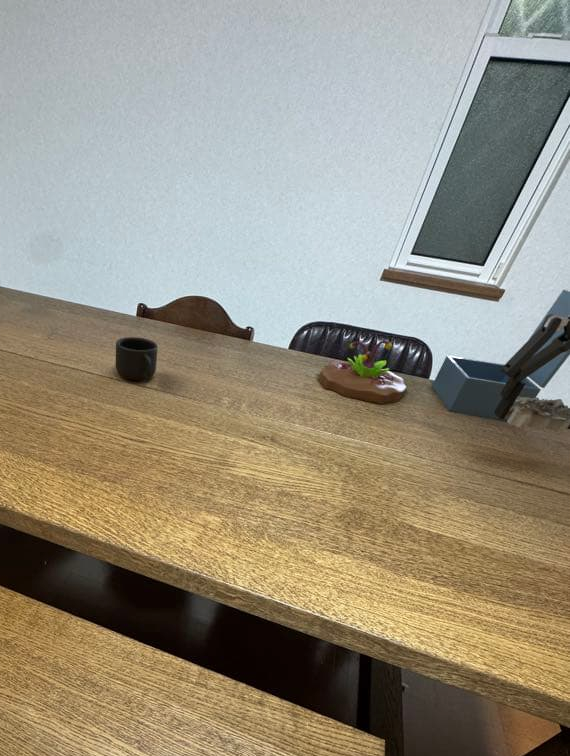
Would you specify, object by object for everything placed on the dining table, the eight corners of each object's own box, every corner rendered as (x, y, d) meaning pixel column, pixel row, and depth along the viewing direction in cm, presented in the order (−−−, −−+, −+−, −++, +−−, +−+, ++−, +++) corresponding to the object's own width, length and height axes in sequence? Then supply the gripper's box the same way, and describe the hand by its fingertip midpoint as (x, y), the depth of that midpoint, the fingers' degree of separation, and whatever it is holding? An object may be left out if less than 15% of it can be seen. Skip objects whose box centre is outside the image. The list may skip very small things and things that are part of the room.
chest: (449, 411, 104) (467, 377, 99) (431, 386, 116) (446, 355, 111) (519, 422, 103) (541, 389, 98) (494, 396, 115) (512, 365, 110)
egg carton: (509, 427, 79) (523, 405, 77) (491, 409, 85) (504, 388, 82) (572, 435, 79) (588, 413, 76) (550, 417, 84) (564, 396, 82)
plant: (394, 411, 101) (417, 360, 93) (310, 386, 107) (326, 337, 100) (408, 386, 114) (429, 340, 107) (333, 365, 121) (348, 320, 114)
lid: (602, 305, 87) (628, 312, 87) (563, 289, 99) (585, 295, 98) (540, 387, 97) (563, 393, 97) (511, 363, 109) (532, 368, 109)
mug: (109, 370, 103) (109, 337, 98) (145, 367, 106) (147, 336, 102) (129, 391, 95) (130, 357, 90) (167, 387, 98) (170, 354, 94)
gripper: (552, 278, 65) (472, 419, 80) (726, 300, 63) (611, 441, 78) (530, 269, 71) (459, 402, 85) (689, 289, 69) (588, 422, 83)
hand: (531, 420), depth 82 cm, fingers closed on egg carton, 11 cm apart
